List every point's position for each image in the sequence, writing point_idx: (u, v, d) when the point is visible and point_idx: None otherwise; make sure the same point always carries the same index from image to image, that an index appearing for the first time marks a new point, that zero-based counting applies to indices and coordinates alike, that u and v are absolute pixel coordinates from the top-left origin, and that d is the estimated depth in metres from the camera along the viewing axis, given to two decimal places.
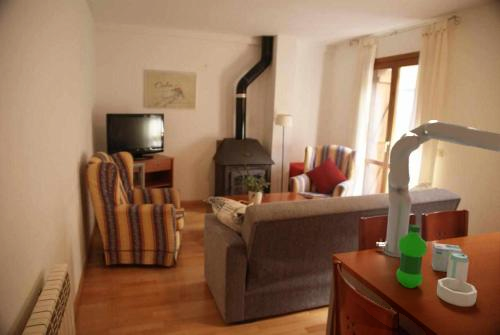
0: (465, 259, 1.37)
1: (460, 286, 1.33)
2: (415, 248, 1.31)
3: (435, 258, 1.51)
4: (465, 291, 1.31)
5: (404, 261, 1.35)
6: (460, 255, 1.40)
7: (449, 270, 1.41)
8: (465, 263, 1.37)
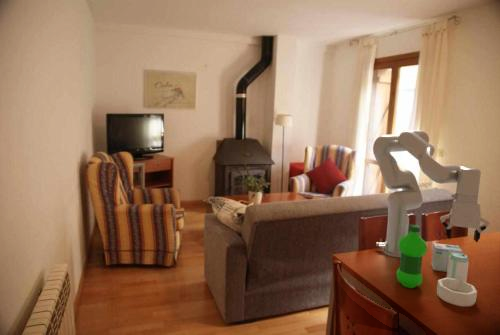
0: (465, 259, 1.37)
1: (460, 286, 1.33)
2: (415, 248, 1.31)
3: (435, 258, 1.51)
4: (465, 291, 1.31)
5: (404, 261, 1.35)
6: (460, 255, 1.40)
7: (449, 270, 1.41)
8: (465, 263, 1.37)
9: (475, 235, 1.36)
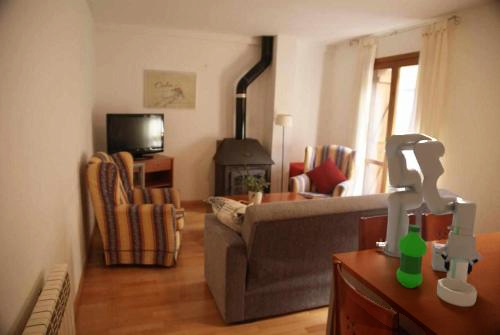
0: None
1: (460, 286, 1.33)
2: (415, 248, 1.31)
3: (435, 258, 1.51)
4: (465, 291, 1.31)
5: (404, 261, 1.35)
6: None
7: (449, 270, 1.41)
8: (465, 263, 1.37)
9: None
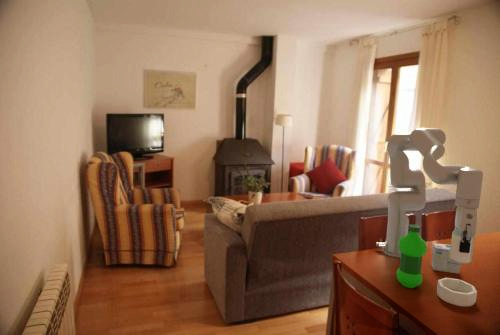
0: None
1: (460, 286, 1.33)
2: (415, 248, 1.31)
3: (435, 258, 1.51)
4: (465, 291, 1.31)
5: (404, 261, 1.35)
6: None
7: None
8: None
9: None
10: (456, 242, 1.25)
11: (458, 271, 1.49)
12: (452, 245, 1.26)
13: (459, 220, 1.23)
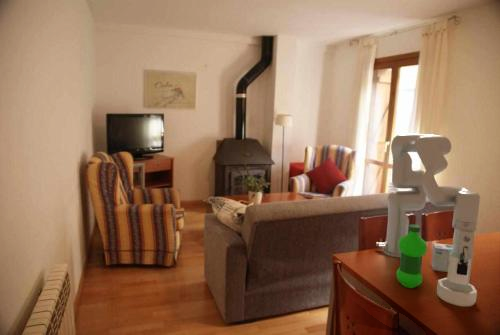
0: None
1: (460, 286, 1.33)
2: (415, 248, 1.31)
3: (435, 258, 1.51)
4: (465, 291, 1.31)
5: (404, 261, 1.35)
6: None
7: None
8: None
9: None
10: (453, 264, 1.26)
11: None
12: (450, 267, 1.28)
13: (456, 242, 1.24)
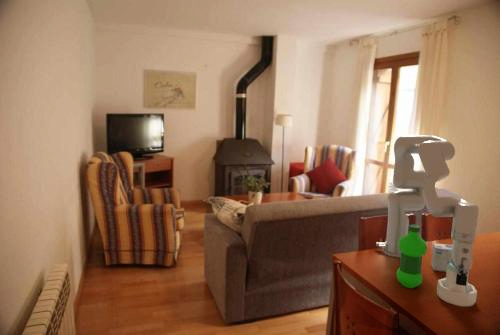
0: None
1: None
2: (415, 248, 1.31)
3: (435, 258, 1.51)
4: None
5: (404, 261, 1.35)
6: None
7: (462, 286, 1.25)
8: None
9: None
10: (450, 277, 1.27)
11: None
12: (447, 280, 1.29)
13: (455, 253, 1.25)
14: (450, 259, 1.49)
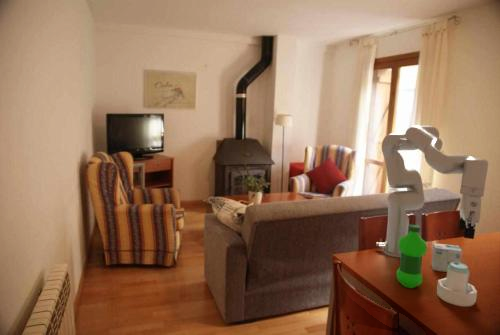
0: None
1: None
2: (415, 248, 1.31)
3: (435, 258, 1.51)
4: None
5: (404, 261, 1.35)
6: (457, 265, 1.28)
7: (462, 287, 1.25)
8: None
9: (464, 224, 1.35)
10: (451, 277, 1.27)
11: None
12: (447, 280, 1.29)
13: (464, 208, 1.27)
14: (450, 259, 1.49)
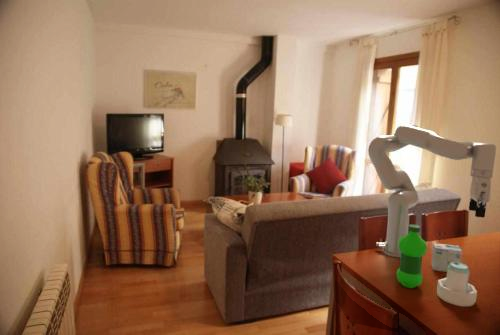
0: None
1: None
2: (415, 248, 1.31)
3: (435, 258, 1.51)
4: None
5: (404, 261, 1.35)
6: (457, 265, 1.28)
7: (462, 287, 1.25)
8: None
9: (474, 205, 1.45)
10: (451, 277, 1.27)
11: None
12: (447, 280, 1.29)
13: (474, 189, 1.38)
14: (450, 259, 1.49)
